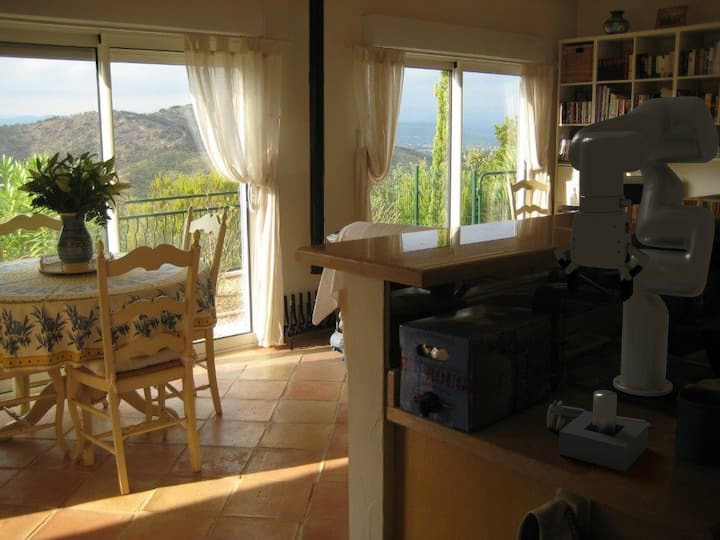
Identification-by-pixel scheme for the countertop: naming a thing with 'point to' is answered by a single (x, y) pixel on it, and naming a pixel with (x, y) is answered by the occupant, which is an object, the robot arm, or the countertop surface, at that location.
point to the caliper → (570, 414)
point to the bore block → (604, 442)
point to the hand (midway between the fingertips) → (599, 296)
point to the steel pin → (604, 412)
